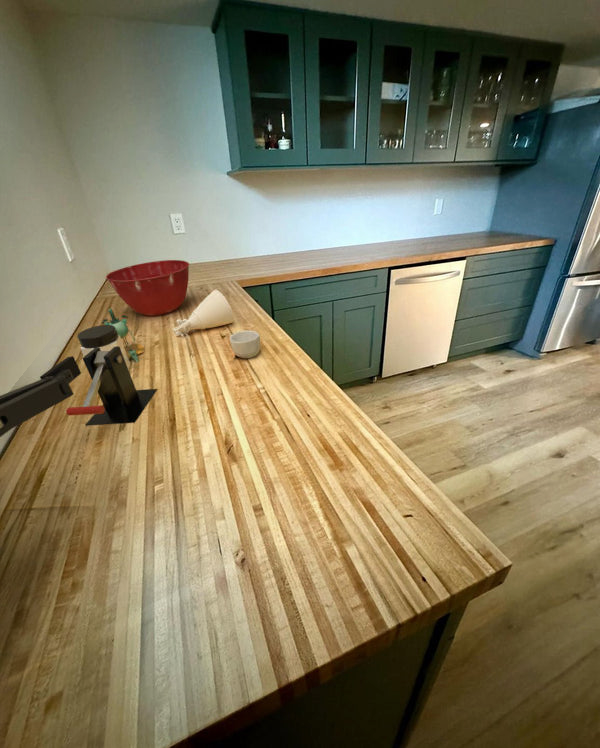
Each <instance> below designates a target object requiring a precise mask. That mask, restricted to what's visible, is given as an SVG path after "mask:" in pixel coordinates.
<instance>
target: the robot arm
mask: <svg viewBox="0 0 600 748" xmlns="http://www.w3.org/2000/svg"><path fill="white" fill-rule="evenodd" d="M81 374H82V372H81V369H80V368H79V365H78V363H77V361H76V358H75V356H74V355H72V356H67V357H66V358H64V359H63V360H61V361H60V362H59V363H57V364H55V366H52V367H51V368H50V369H49V370H47V371H46V372H44V373H43V374H41V375H40V376H39V378H40V379H39V380H36V381H34V382H32V383H29V384H27V385H23V386H21V387H18V388H16V389H13V390H11V391H9V392H6V393H4V394H1V395H0V438H1V437H2V436H4V435H5V434H7V433H8V432H9V431H11V430H13V429H14V428H16V427H18V426H19V425H22V424H23V423H24V422H26V421H29V420H30V419H32V418H34V417H37V416H38V415H40V414H41V413H43V412H45V411H47V410H48V409H50V408H52V407H54V406H56V405H58V404H59V403H61V402H63V401H65V400H67V399H68V398H71V397H72V396H73V395H74V391H73V390H72V388H71V386H70V383H72V382H73V381H74V380H75V379H77V377H79V376H80V375H81Z"/></svg>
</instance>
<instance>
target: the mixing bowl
mask: <svg viewBox="0 0 600 748" xmlns="http://www.w3.org/2000/svg"><path fill="white" fill-rule="evenodd" d="M189 267H190V263H189V262H188V261H186V260H182V259H166V260H155V261H148V262H142V263H138V264H133V265H129V266H124V267H121V268H119V269H116V270H114V271H111V272H109V273H108V274H107V275H106V276H105V279H106V280H107V281H108V282H109V284H110V285H111V287H112V288H113V289H114V292H116V294H117V295H118V296H119V297H120V299H121V300H122V301H123V302H124V303H125V304H126V305H127V306H128V307H130V309H131V310H132V311H134V312H136V313H138V314H140V315H141V314H142V315H144V316H147V317H157V316H163V315H168V314H169V313H172V312H174V311H177V310H178V309H179V307H180V306H181V305H183V303H184V301H185V299H186V296H187V291H188V286H189V276H190V275H189V273H190V271H189V269H190V268H189Z"/></svg>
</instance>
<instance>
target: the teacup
mask: <svg viewBox="0 0 600 748" xmlns="http://www.w3.org/2000/svg"><path fill="white" fill-rule="evenodd" d="M260 337H261V336H260V334H259V332H257V331H255V330H253V329H252V330H250V329H248V330H246V329H245V330H239V331H236V332H234V333H232V334H231V335H230V336H229V345H230V348H231V350H232V353H233V354H234V355H235V356H237V358H239V359H240V358H241V359H251V358H253V357H255V356H256V355H257V354H258V353H259V351H260V349H261V338H260Z"/></svg>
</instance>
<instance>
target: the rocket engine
mask: <svg viewBox="0 0 600 748" xmlns="http://www.w3.org/2000/svg"><path fill="white" fill-rule="evenodd" d="M175 322H176V324H177V326H176V327H173V328H172V332H174V335H175V336H176V337H179V336H181V338H185V336H186V338H189V337H190V336H189V334H188V332H189V331H190V330H205V329H210V328H211V329H212V328H216V327H221V326H225V325H226V326H227V325H228V324H232V323H234V322H235V315H234V311H233V309H232V307H231V304H230V303H229V301H228V300H227V298H226V297H225V296H224V294H223V293H222V292H221V291H220V290H218V289H214V290H213V291H212V292H210V293H209V294H208V295H207V296H206V297H205V298H204V299H203V300H202V301H201V302H200V303H199V305H198V306H197V307H196V308H195V309H194V310H192V311H191V314H190V316H189V317H188V319H187V318H184V319H181V318H179V319H176V321H175Z"/></svg>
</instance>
